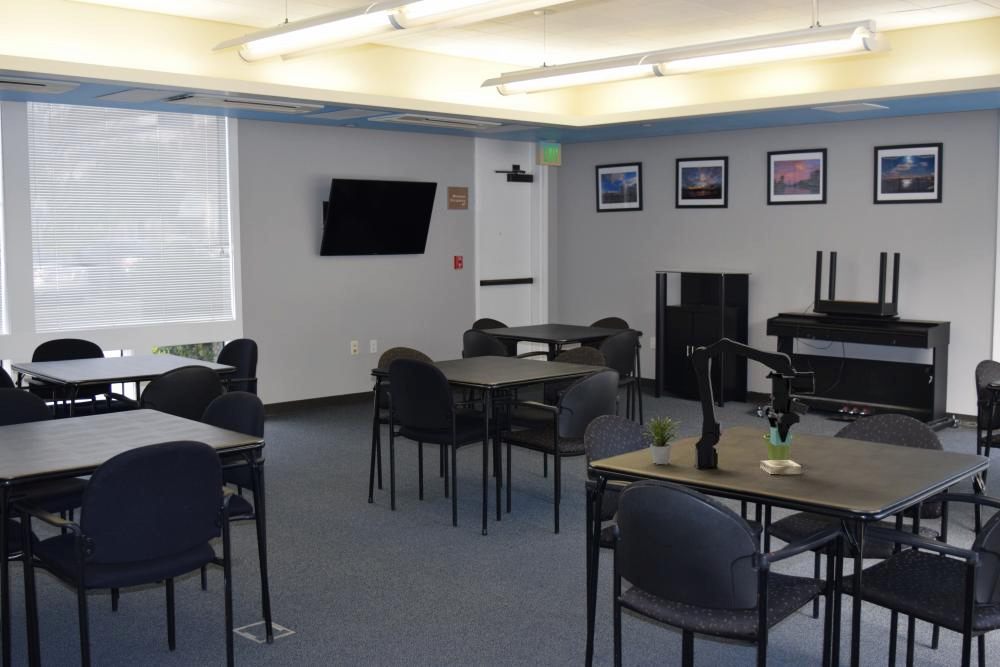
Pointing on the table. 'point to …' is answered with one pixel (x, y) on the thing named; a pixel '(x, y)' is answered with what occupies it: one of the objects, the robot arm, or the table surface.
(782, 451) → the plant pot
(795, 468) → the cream square tray
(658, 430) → the house plant
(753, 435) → the table surface
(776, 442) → the teal cube
